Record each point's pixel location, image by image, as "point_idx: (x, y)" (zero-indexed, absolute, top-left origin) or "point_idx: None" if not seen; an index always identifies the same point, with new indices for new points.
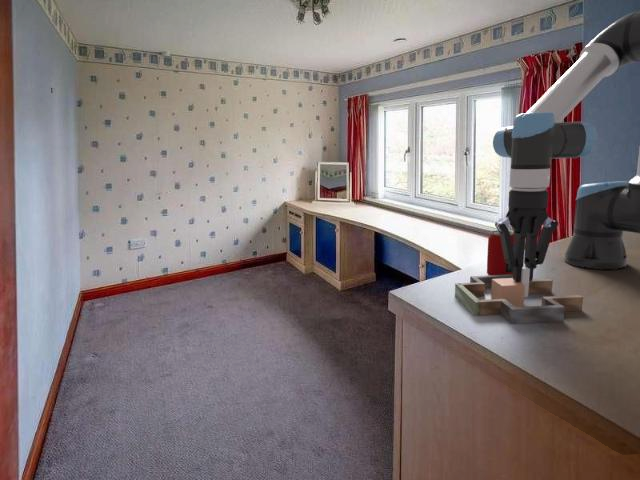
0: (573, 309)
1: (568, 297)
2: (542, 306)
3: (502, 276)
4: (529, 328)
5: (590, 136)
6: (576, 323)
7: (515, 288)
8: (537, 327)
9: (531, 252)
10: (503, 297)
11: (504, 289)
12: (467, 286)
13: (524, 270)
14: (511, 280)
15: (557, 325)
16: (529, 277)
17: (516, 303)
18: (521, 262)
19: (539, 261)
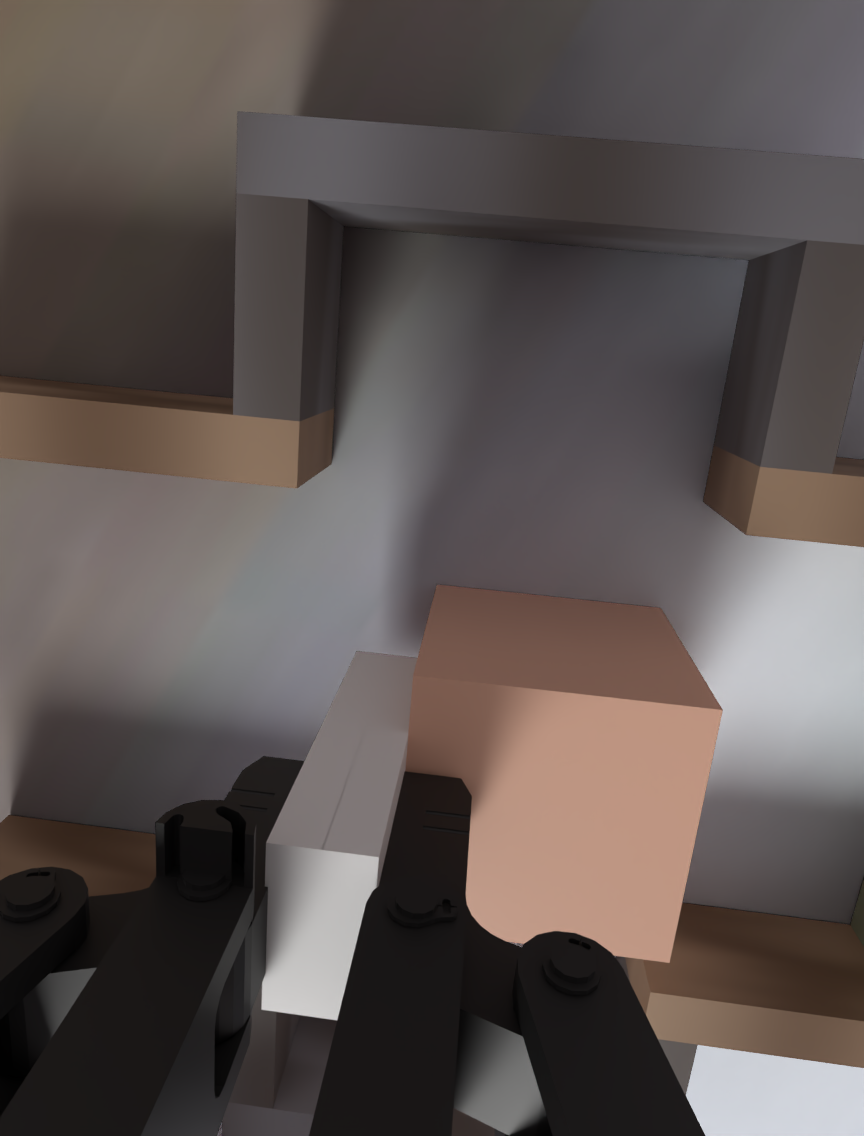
0: (45, 382)
1: (28, 401)
2: (477, 190)
3: None
4: (721, 48)
5: None
6: (194, 81)
7: (534, 669)
8: (625, 58)
9: (127, 1109)
10: (659, 645)
11: (673, 683)
12: (840, 1001)
13: (360, 837)
14: (474, 855)
15: (401, 69)
16: (281, 789)
17: (506, 604)
18: (396, 953)
19: (49, 909)
